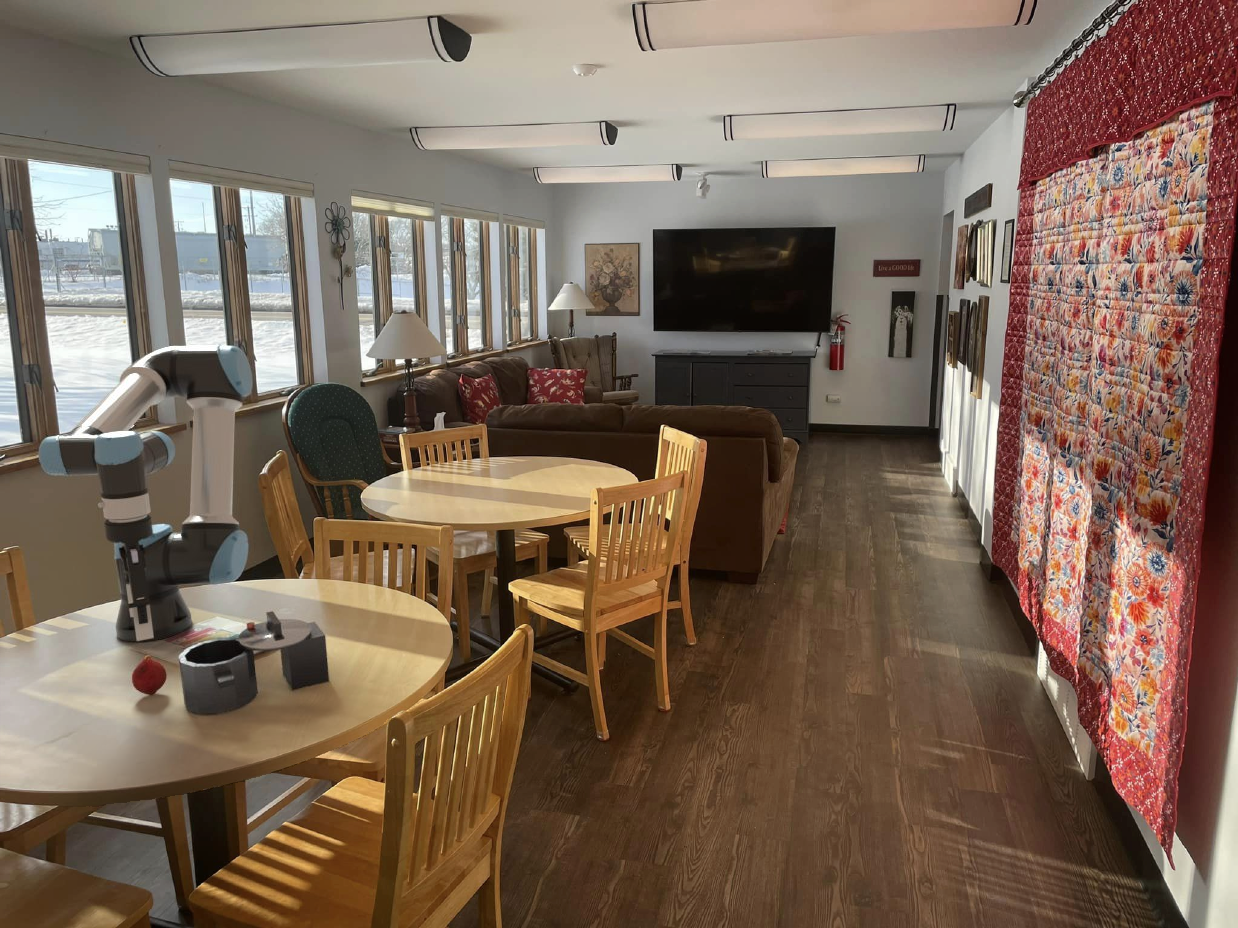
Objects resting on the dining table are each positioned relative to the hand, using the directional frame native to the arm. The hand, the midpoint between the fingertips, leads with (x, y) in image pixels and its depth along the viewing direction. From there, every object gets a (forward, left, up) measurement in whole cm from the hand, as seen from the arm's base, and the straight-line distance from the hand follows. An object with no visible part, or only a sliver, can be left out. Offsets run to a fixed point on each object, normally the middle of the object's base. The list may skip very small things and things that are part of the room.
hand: (141, 626), depth 167 cm
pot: (+9, +11, -14) cm, 20 cm away
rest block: (+9, +27, -14) cm, 31 cm away
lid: (+9, +22, -4) cm, 24 cm away
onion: (0, 0, -14) cm, 14 cm away
